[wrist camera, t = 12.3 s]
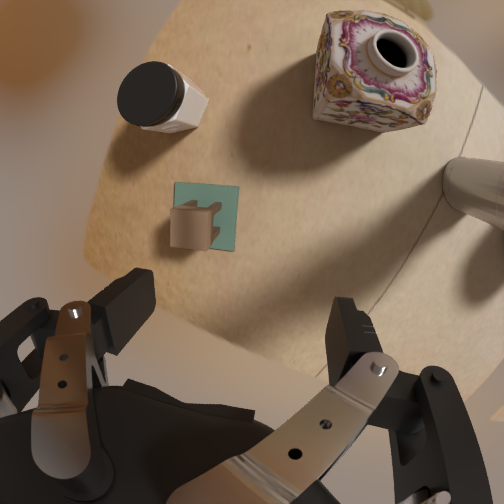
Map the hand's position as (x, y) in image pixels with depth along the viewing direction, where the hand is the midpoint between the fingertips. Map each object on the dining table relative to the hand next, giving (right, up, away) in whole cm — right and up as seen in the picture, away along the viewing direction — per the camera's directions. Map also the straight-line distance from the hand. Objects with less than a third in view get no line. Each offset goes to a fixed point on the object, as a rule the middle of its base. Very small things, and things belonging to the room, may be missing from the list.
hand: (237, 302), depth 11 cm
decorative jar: (+15, +26, +21) cm, 37 cm away
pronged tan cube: (-6, +8, +30) cm, 31 cm away
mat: (-7, +8, +30) cm, 32 cm away
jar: (-10, +24, +25) cm, 36 cm away
